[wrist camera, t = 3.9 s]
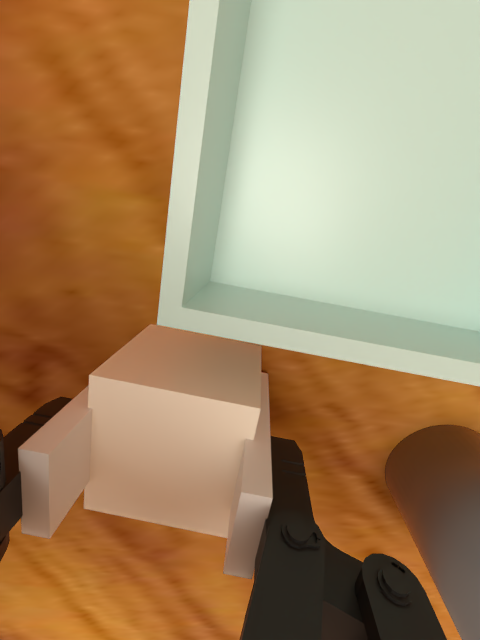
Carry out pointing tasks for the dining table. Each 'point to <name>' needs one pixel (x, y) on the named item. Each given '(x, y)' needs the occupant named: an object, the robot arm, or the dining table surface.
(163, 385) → the tan cube
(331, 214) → the teal tote
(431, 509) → the charcoal cylinder
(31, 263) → the dining table surface
